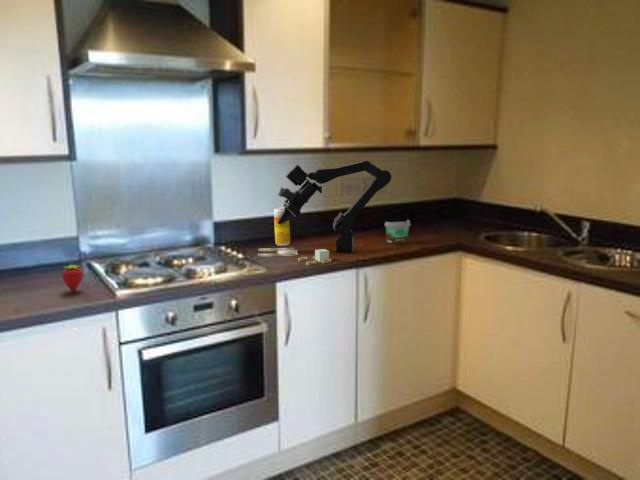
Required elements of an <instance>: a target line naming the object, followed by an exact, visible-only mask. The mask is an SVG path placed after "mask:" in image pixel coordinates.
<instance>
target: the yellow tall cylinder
mask: <svg viewBox="0 0 640 480" xmlns="http://www.w3.org/2000/svg"><path fill="white" fill-rule="evenodd" d="M284 212H285V207H284V206H281V207H280V206H277V207H275V208H274V210H273V221H274V222H273V224H274V241H275V242H274V243H275V245H276V246H279V247H281V246H282V247H283V246H289V245H290V243H291V229H290V220H288V221H286V222H284V223H282V224H278V221H279V220H280V218H281V216H282V215H283V213H284Z"/></svg>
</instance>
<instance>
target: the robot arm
mask: <svg viewBox="0 0 640 480" xmlns="http://www.w3.org/2000/svg"><path fill="white" fill-rule="evenodd" d="M364 171H365V172H366V173H367V174H369V175H371V176H372V178H371V180H370V182H369V185H367V187H366V189H364V191H362V193H361V194H360V195H359V196H358V197H357V199H355V201H353V204H351V206H349V208H348V210H347V211H345V212H344V213H342V212H339V213H338V215H336V217H335V218H334V219H333V220H334V221H333V223H332V227H333V230H334V231H335V232H336V234H338V236H337V239H336V240H335V250H336V253H340V254H341V253H342V254H343V253H344V254H352V253H354V251H356V250H355V247H354V246H355V245H354V237H355V236H354V235H355V233H354V232H353V231H352V229H350V228H351V226H352V225H353V222H354V220H355V219H356V217H357V215H358V214H359V213H360V212H361V211H362V210H363V209H364V208H365V206H366V205H367V204H368V203H369V202H370V200H372V198H373V197H374V196H375V195H376V193H377V192H379V191H380V190H381V189H383V188H384V187H386V186H387V185H388V184H389V183H390V182H391V181H392V174H391V172H390V171H388V170H386V169H383V168H379V167H377V166H376V165H374V164H372V162H370V161H369V160H362V161H359V162H354V163H349V164H345V165H341V166H338V167H326V168H325V167H324V168H323V167H322V168H317V169H315V170H314V171H313V172H306V171H304V169H302V167H301V166H300V165H299V164H296V165H295V166H294V167H293V168H292V169H290V171H288V173H287V174H286V176H285V178H286V179H288V180H289V181H290V182H291V183H292V184H293V185H294V186H296V187H297V186H299V189H298V190H295V191H294V192H293V191H291V189H290V188H287V187H286V188H284V187H280V189H279V191H278V196H279V197H281V198H285V200H284V203H283V207H285V212H284V213H283V215H282V216H281V218H280V220H279V221H278V224H282V223H284V222H286V221H288V220H289V221H290V220H293V219H295V218H298V217H299V216H301V210H302V208H303V207H304V206H305V204H307V203H308V202H309V200H310V199H311V198H312V197H313V196H314V195H315V194H316V192H318V193H320V194H323V186H322V185H323V184H325V183H328V182H331V181H334V179H336V178H339V177H344V176H348V175H353V174H356V173H361V172H364ZM311 181H312V182H311ZM317 183H318V184H319V185H318V184H317ZM321 184H322V185H321ZM300 186H301V187H300Z"/></svg>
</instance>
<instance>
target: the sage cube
mask: <svg viewBox="0 0 640 480" xmlns="http://www.w3.org/2000/svg"><path fill="white" fill-rule="evenodd" d="M314 256H315V259H314V261H316V260H317V261H316V262H319V263H322V260H325V259H330V250H328V249H326V248H321V249H315V250H314Z"/></svg>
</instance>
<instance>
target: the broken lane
mask: <svg viewBox="0 0 640 480" xmlns="http://www.w3.org/2000/svg"><path fill="white" fill-rule="evenodd" d="M312 259H314V260H310V261H309V260H308V257H307V256H302V257H301V256H300V257H298V258H297V261H299V262H301V261H306V262H305V263H306V264H305V265H307V266H310V265H316V264H317V261H316V260H315V255H313V256H312ZM321 263H322V264H326V263H332V258H329V259H325V260H322V262H321Z"/></svg>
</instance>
